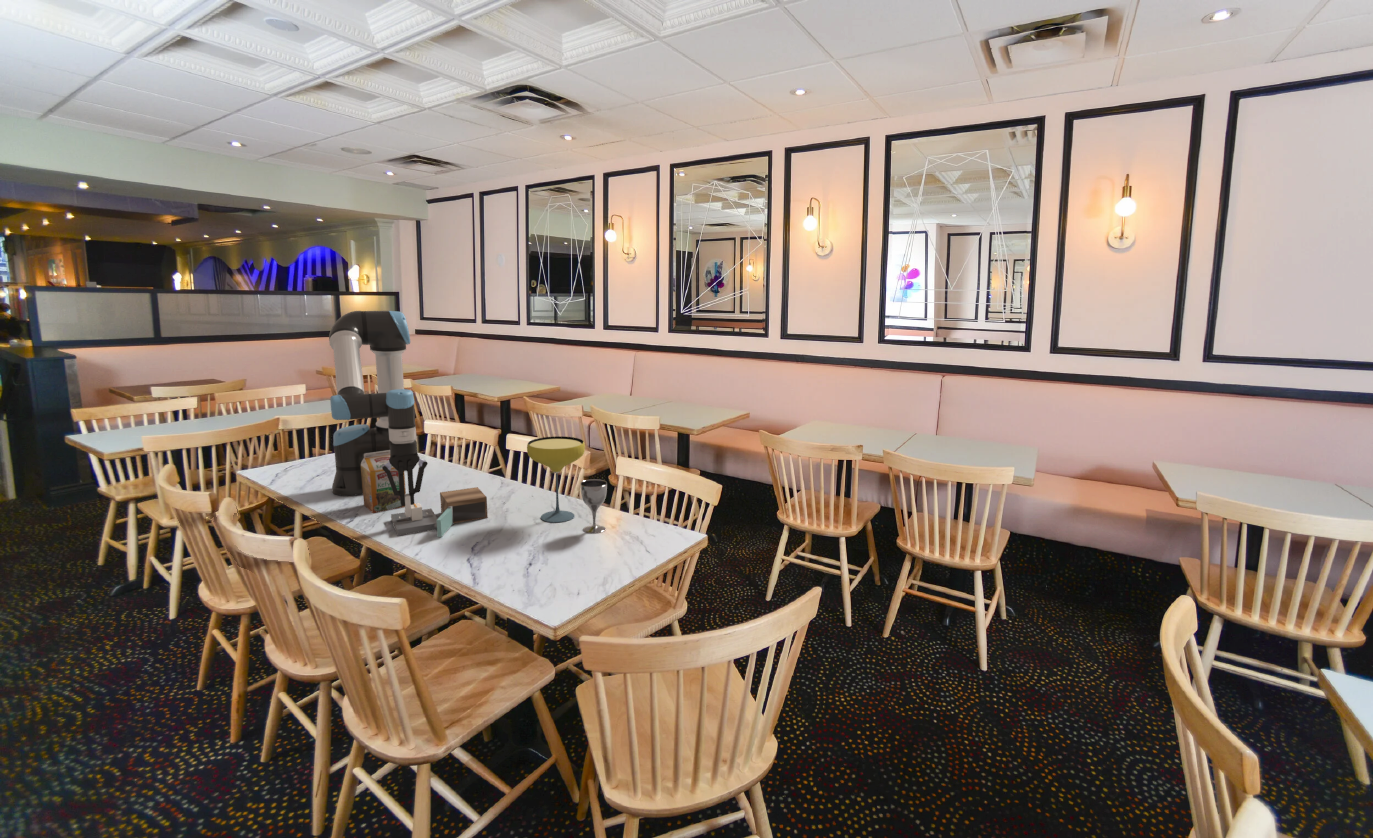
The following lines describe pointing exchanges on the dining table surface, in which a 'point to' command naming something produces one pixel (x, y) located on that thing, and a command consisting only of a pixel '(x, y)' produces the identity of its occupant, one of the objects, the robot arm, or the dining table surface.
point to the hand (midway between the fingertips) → (408, 515)
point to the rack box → (465, 504)
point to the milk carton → (379, 483)
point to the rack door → (444, 521)
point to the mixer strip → (414, 523)
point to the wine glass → (593, 500)
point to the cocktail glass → (556, 464)
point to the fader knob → (416, 512)
